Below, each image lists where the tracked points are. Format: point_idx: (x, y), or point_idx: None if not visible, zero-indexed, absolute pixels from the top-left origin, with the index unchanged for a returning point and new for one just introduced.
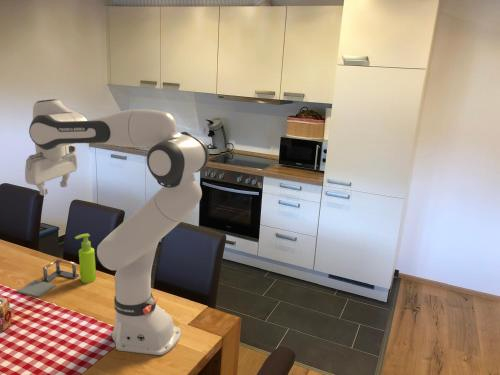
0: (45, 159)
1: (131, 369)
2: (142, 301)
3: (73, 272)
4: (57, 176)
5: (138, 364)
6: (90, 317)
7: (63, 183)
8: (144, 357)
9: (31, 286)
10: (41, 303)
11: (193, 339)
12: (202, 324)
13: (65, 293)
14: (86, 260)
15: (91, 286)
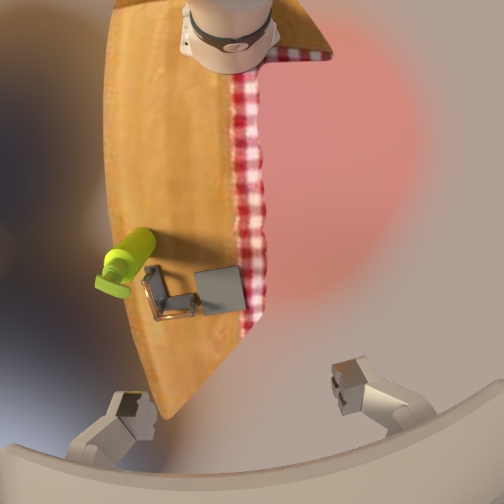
0: None
1: (299, 6)
2: None
3: (152, 273)
4: (233, 481)
5: (286, 3)
6: (234, 133)
7: (140, 416)
8: None
9: (222, 302)
10: (248, 245)
11: None
12: None
13: (201, 237)
14: (136, 248)
15: (155, 216)
